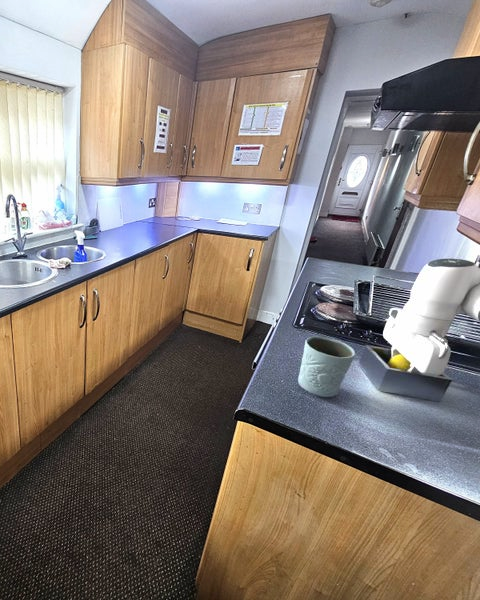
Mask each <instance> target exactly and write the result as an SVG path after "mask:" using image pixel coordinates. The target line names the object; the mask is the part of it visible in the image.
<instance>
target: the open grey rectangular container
mask: <svg viewBox="0 0 480 600" xmlns="http://www.w3.org/2000/svg"><path fill="white" fill-rule="evenodd" d="M391 356H392V354H391V348H388V347H382V346H381V347H380V346H375V345H374V346H373V345H367V344H365V346H364V349H363V351H362V354H361V356H360V358H359V361H358V362H357V363H358V364H357V366H358V367H359V368H360V369H361V371H362V372H363V374H364V375H365V376H366V378H367V379H368V380H369V381H370V383H372V385H373V386H374V388H375V389H376V390H377V391H379V392H383V393H384V392H385V393H391V394H394V395H401V396H406V397H411V398H417V399H422V400H427V401H432V402H438V403H440V402H442V400H443V397H444V395H445V394H446V392H447V390H448V388H449V386H450V384H451V383H452V381H453V379H452V378H451V377H450V376H448V375H447V374H446V373H445V372H444V373H443V374H442V375H439V376H434V375H428V374H423V373H421V372H420V373H417V372H411V371H405V370H399V369H393V368H389V366H388V363H389V361H390V359H391Z"/></svg>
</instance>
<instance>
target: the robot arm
mask: <svg viewBox="0 0 480 600" xmlns="http://www.w3.org/2000/svg"><path fill="white" fill-rule="evenodd" d="M388 315H389V317H388V318H387V320H386V323H385V325H384V328H383V332H382V336H383V338H384V340H385V341H387V342H388V343H389V344H390V346H391V348H390V349H391V354H392V356H391V358H392V357H394V356H396V355H399V354H402V355H403V356H404V357H405V358H406V359H407V360H408V361H409V362H410V363H411V365H410V367H411V368H410V369H409V370H405V371H411V372H417V373H420V372H421V373H423V374H428V375H434V376H439V375H442V374H443V373H445V371H446V368H447V366H448V363H449V360H450V357H451V353H452V352H451V351H452V349H451V347H450V346H449V340H448V339H447V338H445V337H446V335H447V334H448V332H449V331H450V328H451V326H452V324H453V323H454V320H455V318H456V316H457V315H467V316H468V317H470V318H471V319H473V320H474V321H477V322H479V323H480V267H478V266H477V264H476V263H475V262H474V261H471V260H467V259H460V258H437V259H434V260H432V261H431V260H430V261H429V262H428V263H426V264H425V265H424V266H423V268H422V269H421V270H420V272H419V273H418V275H417V277H416V279H415V281H414V282H413V285H412V287H411V290H410V297H409V300H408V301H407V302H406V303H405V304H404V306H403V308H397V307H396V308H395V307H392V308H390V310H389V312H388ZM390 360H391V359H390Z"/></svg>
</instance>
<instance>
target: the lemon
mask: <svg viewBox="0 0 480 600" xmlns="http://www.w3.org/2000/svg"><path fill="white" fill-rule="evenodd" d="M410 365H411V363H410V362H409V361H408V360H407V359H406V358H405V357H404V356H403V355H402V354H399V355H396V356H394V357H392V358H391V360H390V361H389V363H388V366H389V368H393V369H399V370H409V369H410V368H411V367H410Z"/></svg>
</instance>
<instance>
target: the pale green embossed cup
mask: <svg viewBox="0 0 480 600" xmlns="http://www.w3.org/2000/svg"><path fill="white" fill-rule="evenodd" d="M355 357H356V350H355V349H354V348H353V347H351V346H350V345H349V344H347V343H345V342H343V341H340V340H337V339H334V338H330V337H326V336H309V337H308V338H306V339H305V342H304V348H303V354H302V358H301V365H300V369H299V374H298V378H297V383H298V385H299V386H300V387H301V388H302V389H303V390H305V391H307V392H308V393H310V394H312V395H315V396H318V397H323V398H333V397H335V396H336V395H337V394H338V393H339V391H340V389H341V386H342V382H343V381H344V379H345V377H346V374H347V373H348V371H349V369H350V367H351V365H352V363H353V361H354V358H355Z"/></svg>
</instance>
